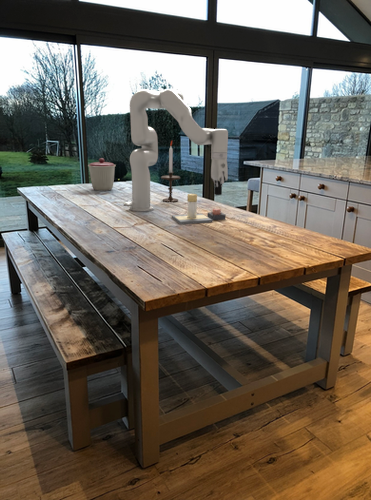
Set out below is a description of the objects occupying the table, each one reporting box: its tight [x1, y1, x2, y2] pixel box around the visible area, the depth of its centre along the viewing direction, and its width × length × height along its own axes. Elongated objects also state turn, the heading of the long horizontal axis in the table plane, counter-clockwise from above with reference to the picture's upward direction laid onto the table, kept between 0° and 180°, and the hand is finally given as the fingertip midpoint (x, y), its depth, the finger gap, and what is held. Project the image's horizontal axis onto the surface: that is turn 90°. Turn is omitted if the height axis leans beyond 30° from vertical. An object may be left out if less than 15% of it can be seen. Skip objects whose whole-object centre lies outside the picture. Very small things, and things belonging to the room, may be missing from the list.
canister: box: [87, 157, 117, 192], centre depth 273 cm, size 18×18×21 cm
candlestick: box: [160, 140, 181, 203], centre depth 238 cm, size 11×11×35 cm
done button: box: [211, 208, 222, 215], centre depth 201 cm, size 4×4×3 cm
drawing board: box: [171, 213, 213, 225], centre depth 198 cm, size 16×14×1 cm
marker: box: [186, 193, 198, 218], centre depth 196 cm, size 5×5×11 cm
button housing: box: [206, 211, 227, 221], centre depth 202 cm, size 7×7×2 cm
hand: (217, 194), depth 198 cm, fingers closed
